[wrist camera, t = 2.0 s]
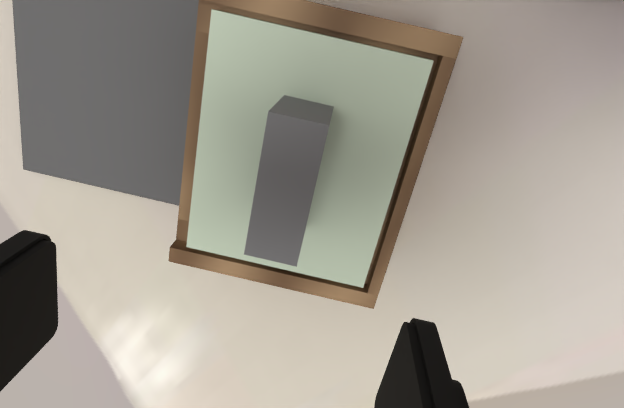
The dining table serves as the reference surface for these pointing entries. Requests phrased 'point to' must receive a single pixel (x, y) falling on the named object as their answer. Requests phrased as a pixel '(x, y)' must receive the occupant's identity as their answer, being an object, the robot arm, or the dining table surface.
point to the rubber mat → (106, 91)
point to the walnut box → (443, 51)
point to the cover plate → (349, 151)
